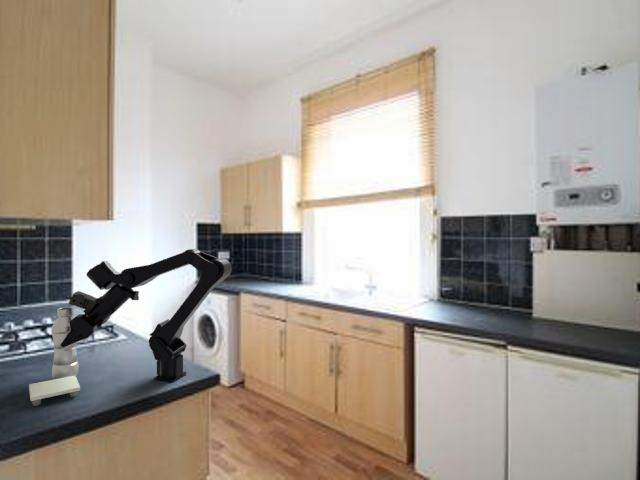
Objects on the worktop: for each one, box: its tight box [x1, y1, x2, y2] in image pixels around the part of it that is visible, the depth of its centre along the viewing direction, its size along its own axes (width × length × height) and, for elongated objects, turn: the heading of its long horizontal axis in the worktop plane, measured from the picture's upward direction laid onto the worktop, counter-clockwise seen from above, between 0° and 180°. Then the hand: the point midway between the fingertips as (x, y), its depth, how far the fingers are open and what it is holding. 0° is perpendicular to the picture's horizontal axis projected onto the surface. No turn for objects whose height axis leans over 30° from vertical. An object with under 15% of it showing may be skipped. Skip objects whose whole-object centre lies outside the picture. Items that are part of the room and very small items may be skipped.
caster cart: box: [28, 375, 81, 407], centre depth 96 cm, size 10×10×2 cm
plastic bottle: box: [51, 306, 80, 380], centre depth 107 cm, size 6×7×20 cm
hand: (68, 341), depth 107 cm, fingers open, 9 cm apart
